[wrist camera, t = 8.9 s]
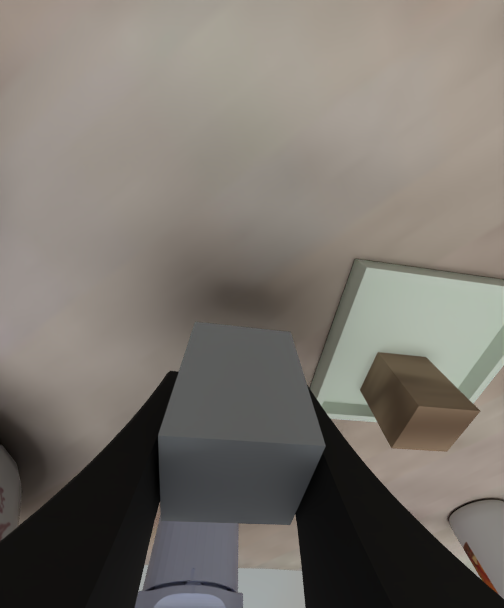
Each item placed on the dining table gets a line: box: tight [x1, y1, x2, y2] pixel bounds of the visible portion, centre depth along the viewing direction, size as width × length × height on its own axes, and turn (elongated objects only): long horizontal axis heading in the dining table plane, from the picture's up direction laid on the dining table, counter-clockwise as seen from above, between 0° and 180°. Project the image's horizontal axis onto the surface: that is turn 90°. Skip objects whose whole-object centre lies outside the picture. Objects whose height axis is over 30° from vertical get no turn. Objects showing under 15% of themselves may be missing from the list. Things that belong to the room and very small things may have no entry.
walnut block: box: [360, 352, 480, 452], centre depth 18 cm, size 4×4×5 cm
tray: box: [310, 259, 504, 422], centre depth 19 cm, size 13×13×2 cm
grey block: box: [158, 322, 326, 525], centre depth 9 cm, size 4×4×5 cm
